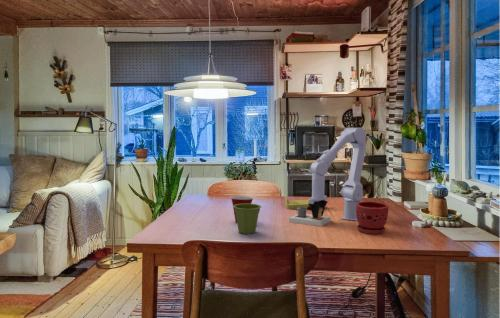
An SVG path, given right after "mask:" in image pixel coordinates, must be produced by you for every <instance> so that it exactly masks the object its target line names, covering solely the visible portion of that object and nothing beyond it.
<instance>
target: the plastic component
mask: <svg viewBox="0 0 500 318" xmlns="http://www.w3.org/2000/svg"><path fill="white" fill-rule="evenodd" d="M309 199H311V197H309V198H308V199H298V200H297V199H295V200H289V197H288V196H286V197H285V208H286V209H288V210H297V208H298V207H305V208H307V209H309V208H310V206H309V205H308V203H309Z"/></svg>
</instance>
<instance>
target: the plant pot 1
mask: <svg viewBox="0 0 500 318" xmlns="http://www.w3.org/2000/svg"><path fill="white" fill-rule="evenodd" d="M233 207H234V208H235V213H236V217H237V231H238V233H240V234H244V235H245V234H246V235H251V234H255V233H256V232H257V231H256V230H257V225H258V221H259V214H260V210H261V208H262V206H261V205H260V204H256V203H251V204H236V205H234V206H233V205H232V208H233Z"/></svg>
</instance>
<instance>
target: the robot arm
mask: <svg viewBox="0 0 500 318" xmlns="http://www.w3.org/2000/svg"><path fill="white" fill-rule="evenodd" d="M366 138H367V132H366V130H365V129H364V128H362V127H346V128H344V129H343V131H341V133H340V136H339V137H338V138H337V140H336V141H335V142H334V143H333V145H332V146H331V148H330V149H326V150H324V151H323V152H322V154H321V155H320V156H319V158H317V159H316V161H314V162H312V163H311V165H310V167H309V172H310V173H311V197H310V198H311V199H309V198H308V199H309V203H308V205H309V206H310V207H309V208H310V210H311V215H312V216H313V218H318V213H319V208H320V207H321V208H323V210H322V213H321V216H324V212H325V209H326V206H327V204H328V200H327V198H328V197H327V196H328V195H325V186H326V185H325V183H326V182H325V181H326V179H325V178H326V176H325V175H326V174H327V173H328V170H329V167H330V165H331V164H332V163H333V162H334V161H335V160H336V158H337V155H336V154H338V153H339V152H340V151H341V149H343V148H344V146H346V144H350V145H351V146H352V148H353V151H352V157H351V164H350V168H349V173H348V179H347V180H346V181H345V182H344V184H343V187H342V188H341V191H340V194H341V196H342V198H343V216H341V218H340V219H341V220H347V221H356V222H358V221H357V216H356V204H357V203H359V202H362V201H361V200H362V199H363V197H364V191H363V190H364V186H363V184H362V183H361V179H362V178H361V177H362V170H363V166H364V161H365V155H366V150H367V142H366ZM363 215H365V214H363Z"/></svg>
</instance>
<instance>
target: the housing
mask: <svg viewBox="0 0 500 318" xmlns="http://www.w3.org/2000/svg"><path fill="white" fill-rule="evenodd" d="M331 219H332V218H331V216H324V215H323V216H321V220H317V219H313V216H312V214H309V213H308V214H307V213H306V218H300V217H298V213H297V214H295V215H292V216H290V217H288V222H289V223H294V224H301V225H309V226H316V227H323V226H324V225H326V224H328V223H330V222H331Z"/></svg>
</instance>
